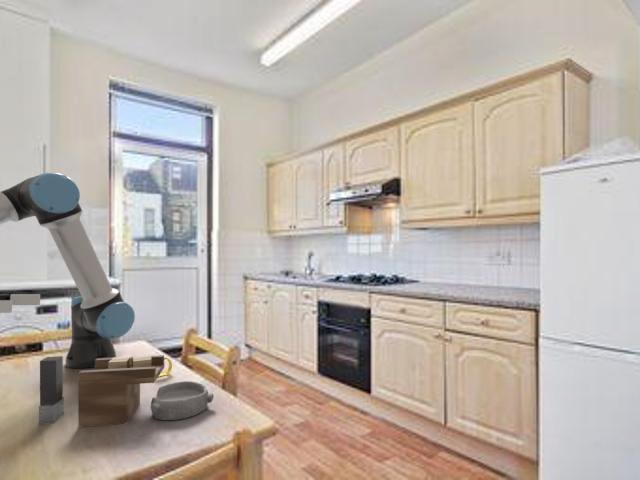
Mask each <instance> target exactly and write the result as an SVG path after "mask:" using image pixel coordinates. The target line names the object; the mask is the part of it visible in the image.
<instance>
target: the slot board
mask: <svg viewBox="0 0 640 480" xmlns="http://www.w3.org/2000/svg"><path fill="white" fill-rule="evenodd" d="M139 356H140V355H139ZM139 356H138V355H137V356H135V357H139ZM164 356H165V355H164V354H163V355H161V354H160V355H159V354H158V355H151V367H139V368H133V357H134V356H130V357H131V368H120V369H108V362H109V361H110V360H111V359H113V358H97V359H96V360H95V367H94V368H93V369H88V370H87V369H86V370H80V371H79V372H78V381H77V382H78V383H77V385H78V388H77V391H78V395H77V398H78V399H77V401H78V402H77V403H78V405H77V406H78V409H77V410H78V412H77V413H78V417H77V418H78V422H77V423H78V424H77V425H78V428H83V427H84V428H85V427H96V426H109V425H122V424H127V423H128V422H129V420H130V419H131V417H132V416H133V414H134V413H135V411H136V410H137V408H138V406H139V405H140V404H141V384H154V383H156V381H157V379H158V378H159V377H158V376H159V375H161V374H162V372H163V370H164V369H165V360H164Z"/></svg>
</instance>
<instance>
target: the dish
mask: <svg viewBox="0 0 640 480" xmlns="http://www.w3.org/2000/svg"><path fill="white" fill-rule="evenodd" d="M214 398H215V397H214V393H213V392H209V391H208V389H207V387H206V386H205V384H203V383H201V382H197V381H193V380H192V381H190V380H189V381H188V380H187V381H186V380H185V381H184V380H183V381H178V382H172V383H169V384H168V383H167V384H165V385H162V386H160V387H159V388H158V390H157V392H156V395H155V397H152V399H151V401H150V402H151V403H150V411H151V414H152V416H153V417H154V418H155V419H157V420H161V421H162V420H163V421H176V420H183V419H187V418H191V417H193V416H196V415H198V414H200V413H202V412H203V411H205V410H206V409H207V407H208V404H210V403H212V402H213V400H214Z"/></svg>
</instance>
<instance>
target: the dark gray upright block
mask: <svg viewBox="0 0 640 480" xmlns="http://www.w3.org/2000/svg"><path fill="white" fill-rule="evenodd" d="M63 360H64V359H63V356H62V355H59V356H58V355H57V356H46V357H45V358H42V359H41V360H39V405H38V425H45V424H46V425H48V424H55V422H56V421H58V419H60V417H62V416H63V415H64V414H65V397H64V385H63V384H64V380H63V379H64V375H63V374H64V373H63V372H64V369H63V368H64V367H63V365H64V362H63Z"/></svg>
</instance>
